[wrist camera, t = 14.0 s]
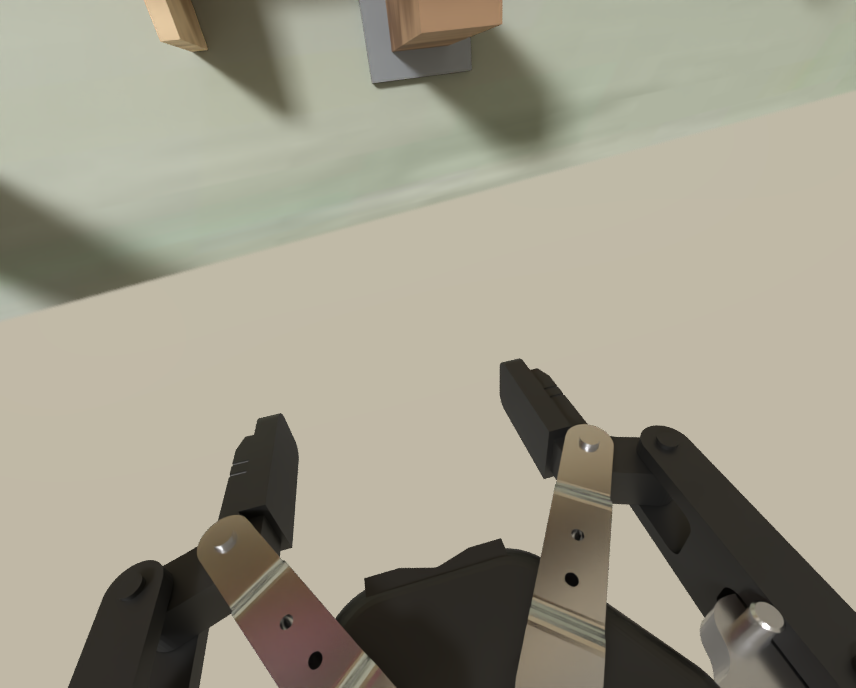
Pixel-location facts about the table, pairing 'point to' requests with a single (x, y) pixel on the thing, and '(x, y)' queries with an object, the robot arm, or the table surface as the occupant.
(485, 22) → the plate
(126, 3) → the table surface
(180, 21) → the shelf end
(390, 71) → the mat
